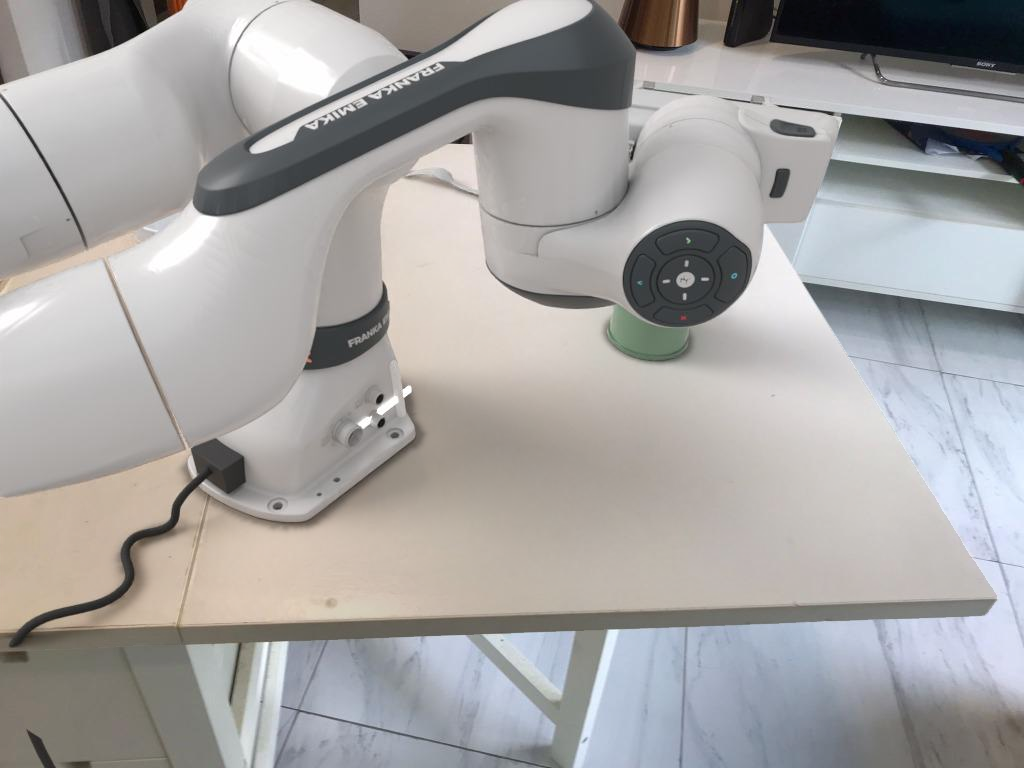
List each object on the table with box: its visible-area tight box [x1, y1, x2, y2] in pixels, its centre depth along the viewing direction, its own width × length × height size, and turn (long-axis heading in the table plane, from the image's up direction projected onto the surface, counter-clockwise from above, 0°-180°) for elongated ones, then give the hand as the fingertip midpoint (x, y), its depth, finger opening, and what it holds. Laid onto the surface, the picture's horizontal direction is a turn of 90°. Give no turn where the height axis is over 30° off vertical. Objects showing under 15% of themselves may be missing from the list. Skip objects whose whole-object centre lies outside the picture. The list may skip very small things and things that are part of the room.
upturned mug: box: [606, 304, 691, 362], centre depth 93 cm, size 12×10×9 cm
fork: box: [404, 167, 479, 196], centre depth 121 cm, size 3×21×3 cm, turn 61°
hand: (701, 97), depth 67 cm, fingers open, 8 cm apart
